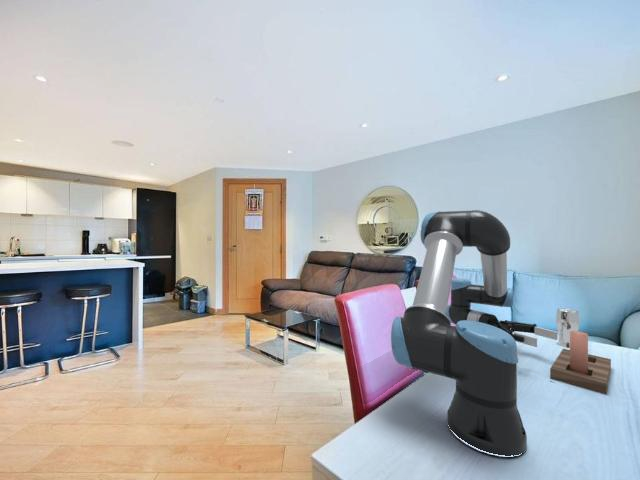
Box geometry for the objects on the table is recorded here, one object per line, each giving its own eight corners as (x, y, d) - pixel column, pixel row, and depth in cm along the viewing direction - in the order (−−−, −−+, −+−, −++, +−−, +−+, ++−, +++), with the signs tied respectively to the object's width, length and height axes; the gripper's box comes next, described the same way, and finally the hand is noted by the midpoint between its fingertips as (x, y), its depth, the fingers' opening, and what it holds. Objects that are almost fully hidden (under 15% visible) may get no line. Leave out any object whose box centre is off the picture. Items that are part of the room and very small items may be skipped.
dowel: (580, 383, 83) (580, 335, 83) (566, 377, 87) (566, 331, 87) (591, 382, 83) (591, 334, 84) (577, 376, 87) (577, 330, 87)
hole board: (606, 398, 77) (606, 383, 77) (550, 381, 86) (550, 368, 86) (610, 371, 93) (610, 359, 93) (563, 359, 102) (563, 348, 102)
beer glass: (555, 343, 118) (555, 307, 118) (577, 347, 114) (577, 310, 114) (556, 348, 112) (557, 310, 112) (580, 352, 108) (580, 313, 108)
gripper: (500, 327, 117) (564, 344, 98) (462, 336, 105) (527, 358, 86) (501, 309, 117) (564, 322, 98) (462, 316, 105) (527, 333, 86)
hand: (547, 339), depth 92 cm, fingers open, 13 cm apart
